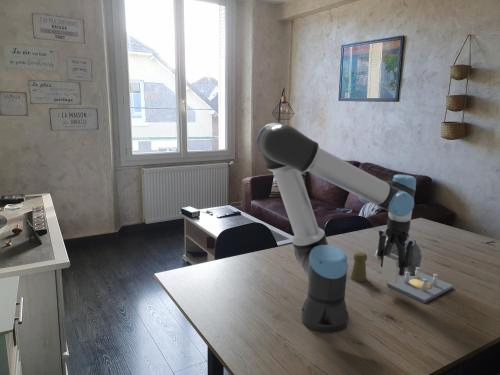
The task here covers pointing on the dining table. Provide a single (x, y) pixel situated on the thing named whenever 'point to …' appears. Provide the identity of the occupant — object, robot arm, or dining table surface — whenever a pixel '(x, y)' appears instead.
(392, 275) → the cream plug
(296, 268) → the dining table surface
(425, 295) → the pin board
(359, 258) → the cork
